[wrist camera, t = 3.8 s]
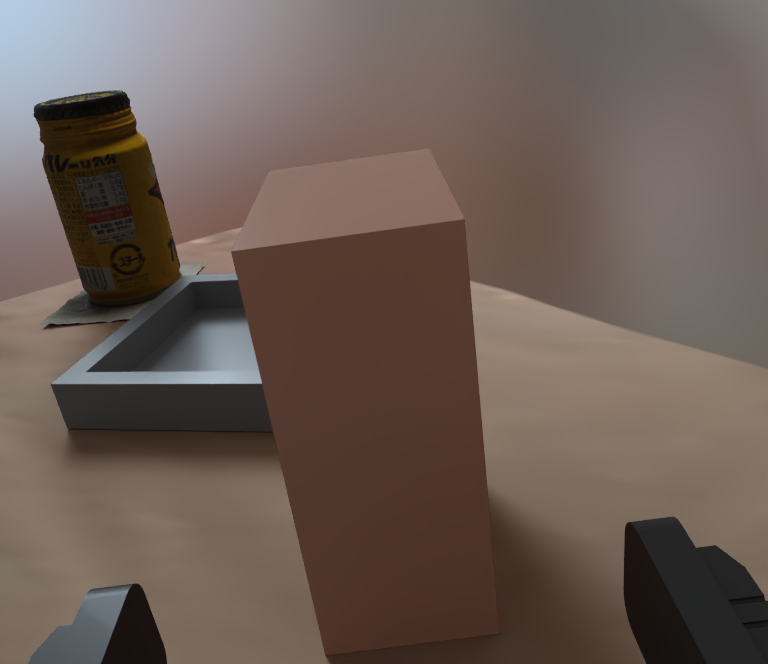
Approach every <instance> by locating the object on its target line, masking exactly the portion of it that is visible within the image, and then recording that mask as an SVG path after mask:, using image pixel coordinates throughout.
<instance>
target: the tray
mask: <svg viewBox="0 0 768 664" xmlns="http://www.w3.org/2000/svg"><path fill="white" fill-rule="evenodd" d="M51 386H52V389H53V392H54V394H55V397H56V400H57V402H58V405H59V407H60V410H61V413H62V415H63V418H64V421H65V423H66V426H67V428H71V429H133V430H195V431H258V432H273V429H272V424H271V420H270V416H269V411H268V407H267V403H266V399H265V394H264V390H263V386H262V381H261V377H260V373H259V369H258V364H257V360H256V356H255V351H254V347H253V343H252V339H251V334H250V330H249V326H248V321H247V317H246V313H245V309H244V304H243V300H242V296H241V292H240V287H239V283H238V279H237V274H236V273H233V274H211V275H189V276H183V277H181V278H180V279H179V280H178V281H176V282H175V283H174V284H173V285H172V286H170V287H169V288H168V289H167V290H165V291H164V292H163V293H162V294H161V295H159V296H158V297H157V298H156V299H154V300H153V301H152V302H151V303H149V304H148V305H147V306H146V307H145V308H143V309H142V310H141V311H140V312H138V313H137V314H136V315H135V316H134V317H132V318H131V319H130V320H129V321H127V322H126V323H125V324H124V325H123V326H121V327H120V328H119V329H118V330H116V331H115V332H114V333H113V334H111V335H110V336H109V337H108V338H107V339H105V340H104V341H103V342H102V343H100V344H99V345H98V346H97V347H96V348H94V349H93V350H92V351H91V352H89V353H88V354H87V355H86V356H85V357H83V358H82V359H81V360H80V361H78V362H77V363H76V364H75V365H73V366H72V367H71V368H70V369H69V370H67V371H66V372H65V373H64V374H62V375H61V376H60V377H59V378H58V379H56V380H55V381H54V382H53V383H51Z"/></svg>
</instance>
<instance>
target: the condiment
mask: <svg viewBox="0 0 768 664" xmlns="http://www.w3.org/2000/svg"><path fill="white" fill-rule="evenodd" d="M34 117H35V118H36V120H37V122H38V124H39V127H40V141H41V142H42V143H43V144H44V155H43V159H42V162H43V167H44V170H45V173H46V175H47V179H48V182H49V184H50V188H51V191H52V194H53V197H54V200H55V203H56V206H57V209H58V212H59V216H60V218H61V221H62V224H63V227H64V230H65V233H66V236H67V239H68V242H69V245H70V248H71V251H72V254H73V257H74V260H75V263H76V266H77V270H78V273H79V276H80V279H81V282H82V286H83V288H84V289H85V290H84V291H83V292H81V293H80V294H79V295H77V296H75V297H74V298H73V299H70V300H68V301H67V303H66V304H65V305H64V306H62V307H61V308H60V309H59V310H58V311H56V312H55V313H53V314H51V315H49V316H48V317H47V318H46V319H45V320H44V321H42V322H41V323H40V324H50V323H53V324H72V323H93V322H104V321H105V322H112V321H116V320H123V319H131V318H132V317H134V316H135V315H136V314H137V313H138V312H140V311H141V310H142V309H143V308H145V307H146V306H147V305H148V304H149V303H151V302H152V301H153V300H154V299H156V298H157V297H158V296H159V295H161V294H162V293H163V292H164V291H165V290H167V289H168V288H169V287H170V286H172V285H173V284H174V283H175V282H176V281H178V280H179V279H180V278H181V277H183V276H189V275H196V274H197V273H198V272H199V271H200V270H201V268H202V267H203V265H204V263H203V264H195V265H187V266H180V263H179V259H178V256H177V251H176V247H175V242H174V240H173V236H172V232H171V229H170V225H169V221H168V218H167V214H166V210H165V207H164V201H163V199H162V196H161V192H160V188H159V183H158V180H157V176H156V172H155V167H154V164H153V162H152V158H151V153H150V150H149V147H148V144H147V141H146V139H145V138H144V137H143V136H142V135H141V134H140V133H138V132H137V131H136V119H135V117H134V115H133V113H132V112H131V107H130V100H129V98H128V97H127V94H126V93H125V92H123V91H116V90H115V91H103V92H95V93H86V94H81V95H74V96H69V97H64V98H59V99H54V100H50V101H46V102H43V103H39V104H37V105H36V106H34ZM142 304H145V305H142ZM85 305H86V306H85ZM140 305H142V306H140ZM137 306H139V307H137ZM135 307H137V308H135Z"/></svg>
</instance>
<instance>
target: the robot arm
mask: <svg viewBox="0 0 768 664" xmlns="http://www.w3.org/2000/svg"><path fill="white" fill-rule="evenodd" d="M624 601H625V607H626V612H627V616H628V620H629V623H630V626H631V629H632V631H633V634H634V636H635V639H636V641H637V643H638V645H639V648H640V650H641V652H642V655H643V657H644V659H645V661H646V664H768V601H766V600H765V598H764V594H763V593H762V591H761V590H760V589H759V587H758V586H757V584H756V583H755V581H754V580H753V578H752V577H751V575H750V574H749V572H748V571H747V569H746V568H745V567H744V566H742V565H741V564H740V563H738V562H737V561H736V560H735V559H733V558H732V557H731V556H729V555H728V554H727V553H725V552H724V551H723V550H721V549H720V548H719V547H717V546H716V545H715V546H707V547H699V548H696V547H695V546H694V544H693V542H692V541H691V539H690V538H689V536H688V534H687V533H686V531H685V529H684V528H683V526H682V525H681V523H680V522H679V521H678V519H676V518H675V517H666V518H658V519H651V520H643V521H635V522H628V523H627V524H626V527H625V547H624ZM28 664H167V659H166V652H165V648H164V645H163V642H162V639H161V636H160V634H159V631H158V628H157V626H156V623H155V620H154V617H153V615H152V612H151V609H150V607H149V604H148V601H147V598H146V596H145V593H144V591H143V589H142V587H141V586H140V585H139V584H128V585H120V586H112V587H105V588H97V589H92V590H90V591H89V592H88V593H87V594H86V596H85V598H84V600H83V602H82V604H81V606H80V609H79V611H78V613H77V615H76V618H75V620H74V622H73V624H72V625H69V626H61V627H57V628H56V630H55V631H54V632H53V633H52V634H51V635H50V636H49V637H48V638H47V640H46V641H45V642H44V643H43V644H42V645H41V646H40V647H39V648H38V650H37V651H36V652H35V653H34V654H33V655H32V657H31V659H30V661H29V663H28Z"/></svg>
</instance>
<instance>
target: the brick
mask: <svg viewBox="0 0 768 664" xmlns="http://www.w3.org/2000/svg"><path fill="white" fill-rule="evenodd" d="M231 253H232V257H233V262H234V266H235V270H236V274H237V279H238V283H239V287H240V292H241V296H242V300H243V304H244V309H245V313H246V317H247V321H248V326H249V330H250V334H251V339H252V343H253V347H254V351H255V356H256V360H257V364H258V369H259V373H260V377H261V381H262V386H263V390H264V394H265V399H266V403H267V407H268V411H269V416H270V420H271V424H272V429H273V433H274V437H275V441H276V446H277V450H278V454H279V459H280V463H281V467H282V471H283V476H284V480H285V484H286V489H287V493H288V497H289V501H290V506H291V510H292V514H293V519H294V523H295V527H296V531H297V536H298V540H299V544H300V549H301V553H302V557H303V561H304V566H305V570H306V574H307V578H308V583H309V587H310V591H311V596H312V600H313V604H314V608H315V613H316V617H317V621H318V626H319V630H320V634H321V638H322V643H323V647H324V651H325V656H327V655H335V654H343V653H350V652H358V651H366V650H374V649H382V648H390V647H398V646H406V645H413V644H421V643H429V642H437V641H445V640H453V639H461V638H469V637H476V636H484V635H492V634H500V631H499V620H498V608H497V596H496V584H495V572H494V561H493V549H492V537H491V525H490V514H489V502H488V490H487V478H486V466H485V455H484V443H483V431H482V419H481V408H480V396H479V384H478V372H477V360H476V349H475V337H474V325H473V313H472V302H471V290H470V278H469V266H468V255H467V244H466V231H465V220H464V217H463V215H462V213H461V211H460V209H459V207H458V205H457V203H456V201H455V199H454V197H453V195H452V193H451V191H450V189H449V187H448V186H447V183H446V182H445V180H444V178H443V176H442V174H441V172H440V170H439V168H438V166H437V164H436V162H435V160H434V158H433V156H432V154H431V152H430V150H429V149H422V150H415V151H409V152H401V153H394V154H386V155H379V156H372V157H365V158H358V159H351V160H344V161H337V162H330V163H322V164H315V165H308V166H301V167H294V168H287V169H280V170H272V171H269V173H268V175H267V177H266V179H265V181H264V183H263V186H262V188H261V190H260V192H259V194H258V196H257V198H256V200H255V202H254V204H253V207H252V209H251V211H250V213H249V215H248V217H247V219H246V221H245V223H244V225H243V228H242V230H241V232H240V234H239V236H238V238H237V240H236V242H235V244H234V246H233V249H232V251H231Z"/></svg>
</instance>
